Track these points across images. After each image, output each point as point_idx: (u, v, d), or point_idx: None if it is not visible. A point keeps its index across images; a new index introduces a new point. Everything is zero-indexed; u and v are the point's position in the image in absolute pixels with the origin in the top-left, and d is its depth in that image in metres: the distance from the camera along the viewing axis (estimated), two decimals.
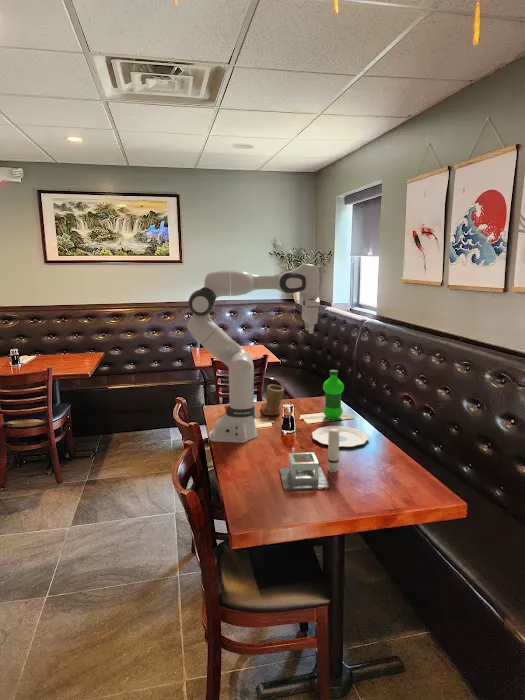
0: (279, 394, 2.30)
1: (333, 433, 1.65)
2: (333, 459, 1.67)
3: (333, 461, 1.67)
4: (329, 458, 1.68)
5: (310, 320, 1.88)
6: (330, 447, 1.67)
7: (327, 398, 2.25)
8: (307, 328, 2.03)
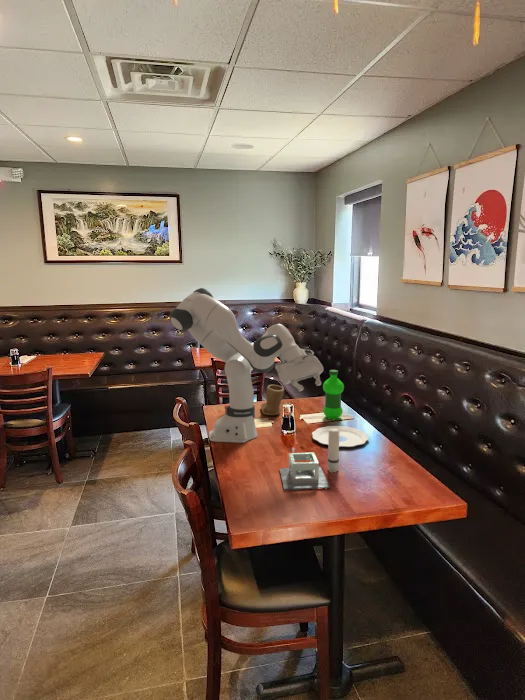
0: (279, 394, 2.30)
1: (333, 433, 1.65)
2: (333, 459, 1.67)
3: (333, 461, 1.67)
4: (329, 458, 1.68)
5: None
6: (330, 447, 1.67)
7: (327, 398, 2.25)
8: None
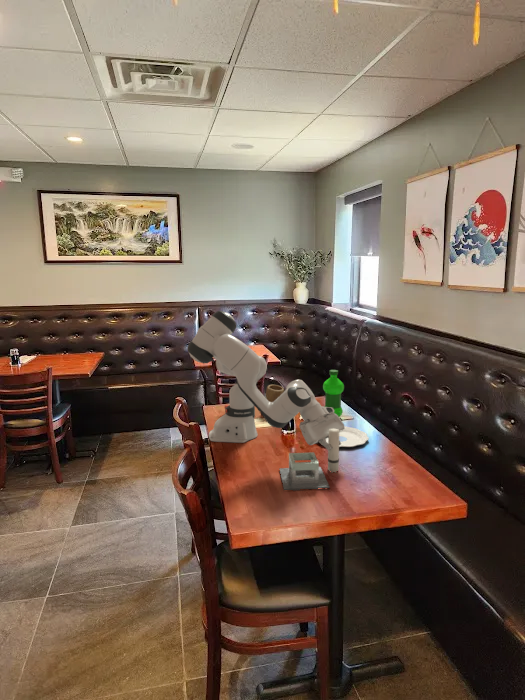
0: (279, 394, 2.30)
1: (333, 433, 1.65)
2: (333, 459, 1.67)
3: (333, 461, 1.67)
4: (329, 458, 1.68)
5: None
6: None
7: (327, 398, 2.25)
8: None
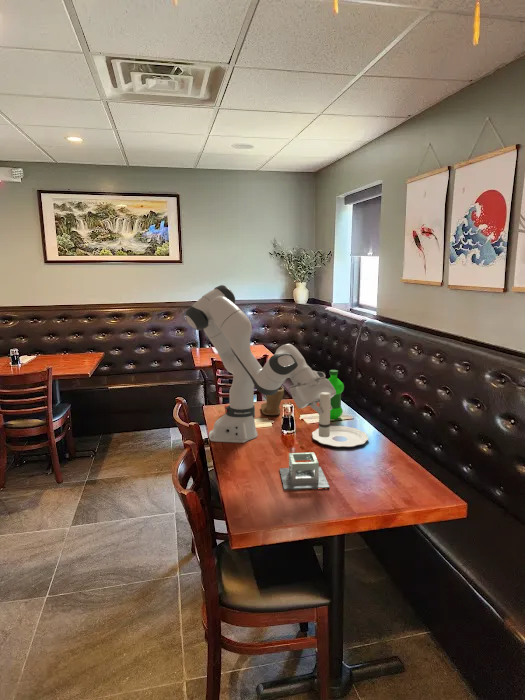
0: (279, 394, 2.30)
1: (324, 396, 1.60)
2: (324, 423, 1.62)
3: (324, 426, 1.62)
4: (320, 422, 1.63)
5: None
6: None
7: None
8: None
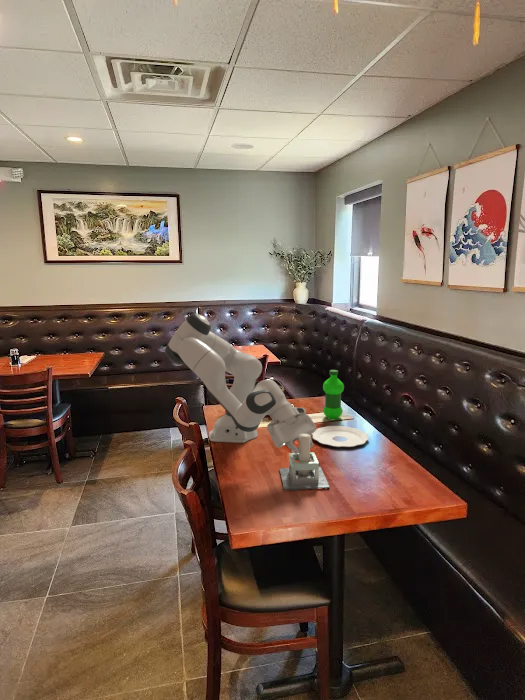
0: None
1: (304, 438, 1.58)
2: None
3: None
4: None
5: None
6: (300, 453, 1.59)
7: (327, 398, 2.25)
8: None
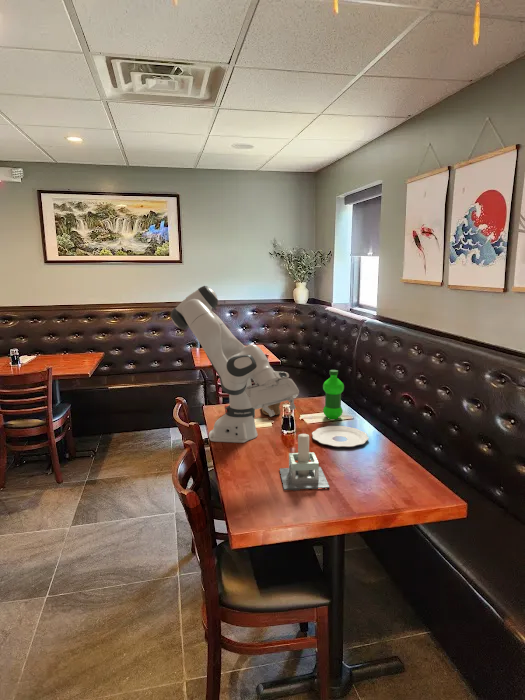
0: None
1: (303, 439, 1.58)
2: None
3: None
4: None
5: None
6: (300, 453, 1.60)
7: (327, 398, 2.25)
8: None
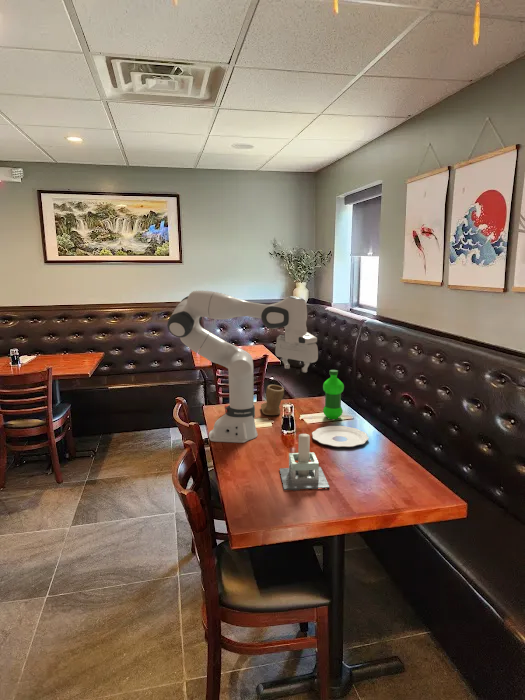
0: (279, 394, 2.30)
1: (303, 438, 1.58)
2: None
3: None
4: None
5: (313, 358, 1.72)
6: (300, 453, 1.60)
7: (327, 398, 2.25)
8: (288, 366, 1.84)
